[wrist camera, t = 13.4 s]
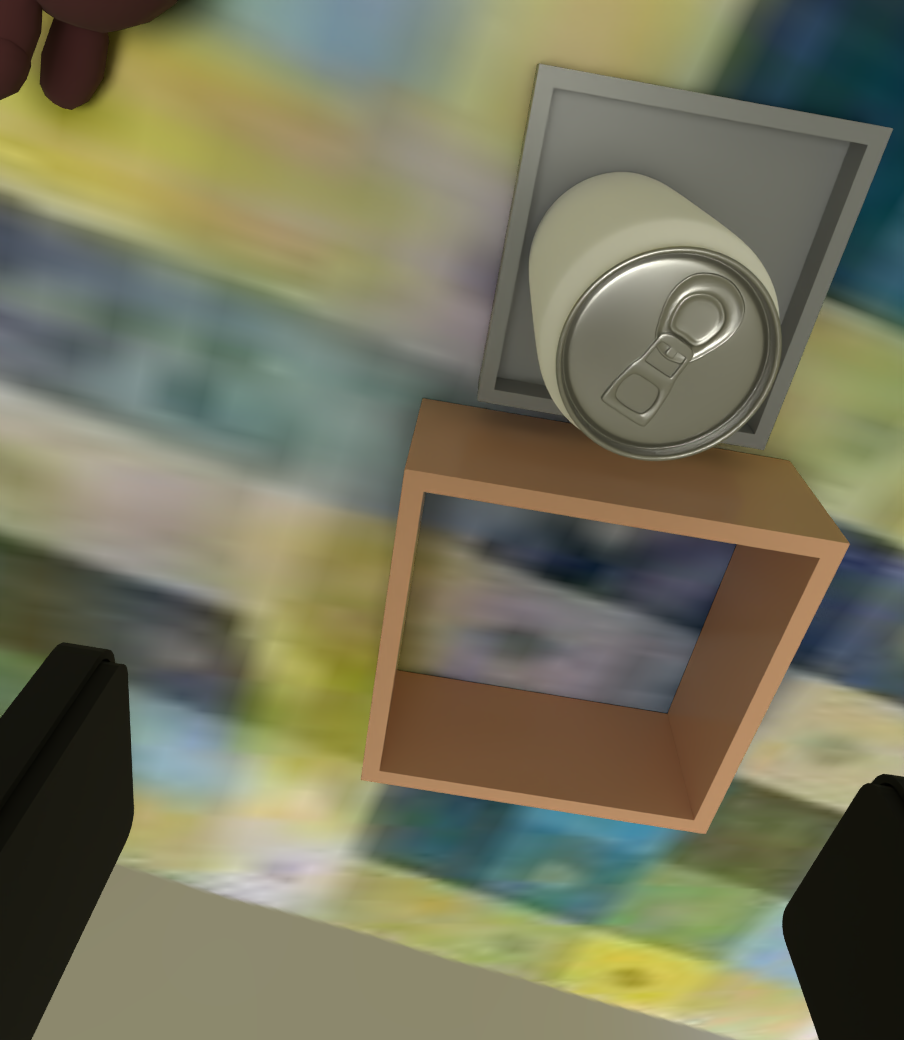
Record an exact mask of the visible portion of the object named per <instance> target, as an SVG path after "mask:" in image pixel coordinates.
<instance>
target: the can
mask: <svg viewBox="0 0 904 1040" xmlns="http://www.w3.org/2000/svg"><path fill="white" fill-rule="evenodd" d="M529 285H530V295H531V305H532V314H533V324H534V332H535V341H536V348H537V355H538V360H539V365H540V370H541V374H542V377H543V380H544V383H545V385H546V387H547V390H548V392H549V394H550V396H551V398H552V399H553V401H554V403H555V404H556V406H557V407H558V408H559V410H560V411H561V412H562V414H563V415H564V416H565V417H566V418H567V419H568V420H569V421H570V422H571V423H572V424H573V425H575V426H576V427H577V428H578V429H580V430H581V431H582V432H583V433H584V434H585V435H586V436H587V437H588V438H590V439H591V440H592V441H594V442H595V443H596V444H598V445H599V446H601V447H603V448H605V449H606V450H608V451H611V452H613V453H615V454H618V455H621V456H624V457H628V458H632V459H637V460H645V461H667V460H675V459H680V458H685V457H688V456H692V455H695V454H698V453H701V452H703V451H705V450H708V449H710V448H712V447H714V446H716V445H718V444H719V443H721V442H723V441H724V440H726V439H727V438H729V437H730V436H731V435H733V434H734V433H735V432H737V431H738V430H739V429H740V428H741V427H742V426H743V425H745V424H746V423H747V422H748V420H749V419H750V418H751V417H752V416H753V415H754V414H755V413H756V411H757V410H758V409H759V407H760V406H761V404H762V403H763V401H764V400H765V398H766V397H767V395H768V393H769V391H770V389H771V387H772V385H773V382H774V380H775V377H776V374H777V371H778V367H779V363H780V358H781V350H782V333H781V325H780V320H779V307H778V301H777V296H776V293H775V289H774V286H773V284H772V281H771V279H770V277H769V275H768V273H767V271H766V269H765V268H764V266H763V264H762V263H761V261H760V260H759V259H758V257H757V256H756V255H755V253H754V252H753V251H752V250H751V249H750V248H749V247H748V246H747V245H746V244H745V243H744V242H743V241H742V240H741V239H739V238H738V237H737V236H736V235H735V234H733V233H732V232H731V231H730V230H728V229H727V228H726V227H724V226H723V225H722V224H720V223H719V222H718V221H716V220H715V219H714V218H712V217H711V216H710V215H708V214H707V213H705V212H704V211H703V210H701V209H700V208H699V207H697V206H696V205H694V204H693V203H692V202H690V201H689V200H687V199H686V198H685V197H683V196H682V195H680V194H679V193H677V192H676V191H674V190H673V189H671V188H670V187H668V186H667V185H665V184H663V183H661V182H659V181H657V180H655V179H653V178H650V177H647V176H644V175H641V174H637V173H631V172H611V173H605V174H601V175H597V176H594V177H591V178H588V179H586V180H584V181H582V182H580V183H578V184H576V185H575V186H573V187H572V188H570V189H569V190H567V191H566V192H565V193H564V194H562V195H561V196H560V197H559V198H558V199H557V200H556V201H555V202H554V203H553V204H552V206H551V207H550V208H549V209H548V211H547V212H546V213H545V215H544V217H543V218H542V220H541V222H540V224H539V226H538V228H537V230H536V232H535V235H534V238H533V241H532V245H531V249H530V255H529Z"/></svg>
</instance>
